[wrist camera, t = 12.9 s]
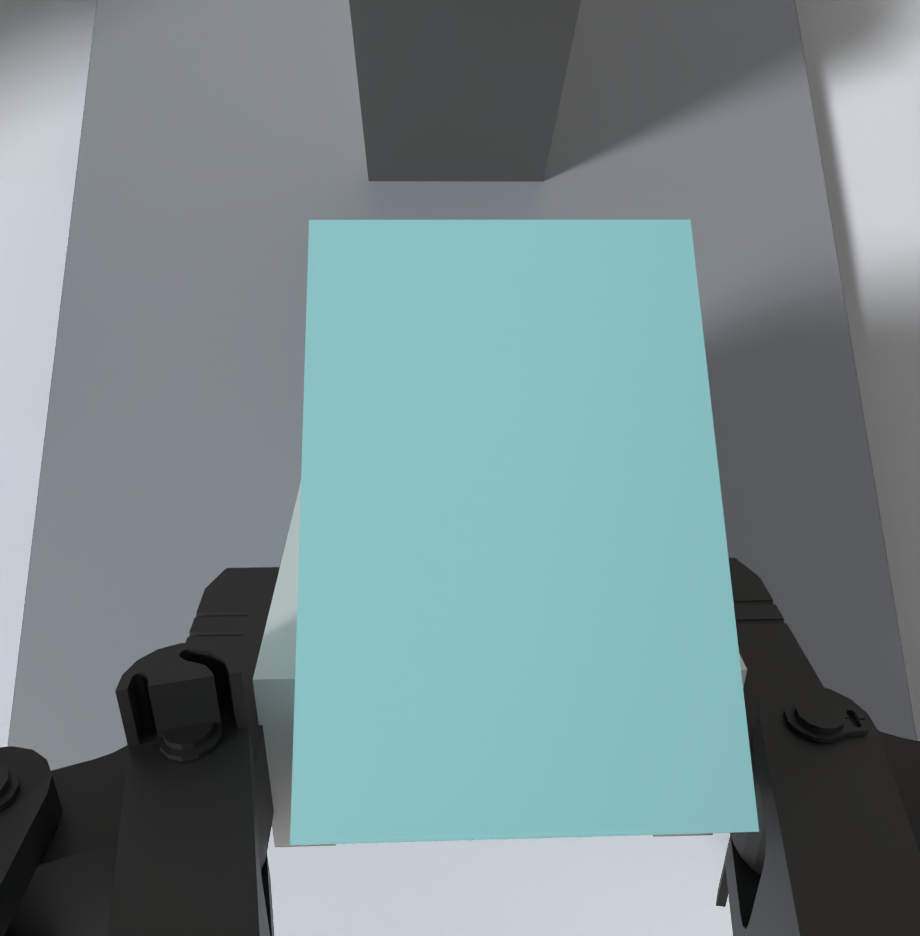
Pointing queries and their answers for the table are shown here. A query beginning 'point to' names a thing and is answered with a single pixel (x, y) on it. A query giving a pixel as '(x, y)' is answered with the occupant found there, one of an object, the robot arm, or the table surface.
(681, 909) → the table surface
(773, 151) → the ticket stand
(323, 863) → the table surface
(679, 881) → the table surface
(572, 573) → the stub
